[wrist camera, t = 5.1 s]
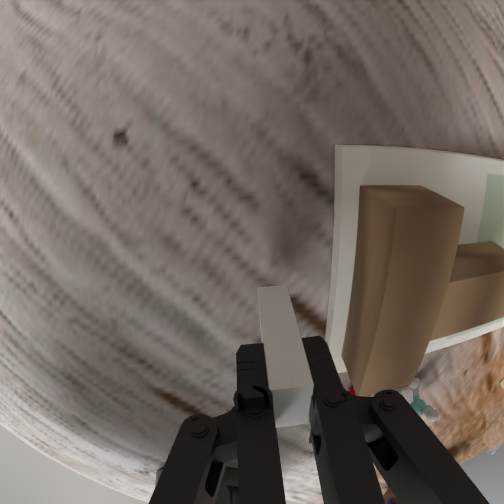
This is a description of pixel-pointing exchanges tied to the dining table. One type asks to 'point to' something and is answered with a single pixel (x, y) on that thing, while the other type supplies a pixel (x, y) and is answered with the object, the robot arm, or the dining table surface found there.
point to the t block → (413, 284)
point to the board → (409, 173)
